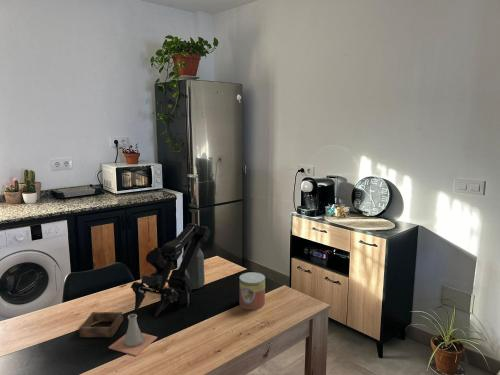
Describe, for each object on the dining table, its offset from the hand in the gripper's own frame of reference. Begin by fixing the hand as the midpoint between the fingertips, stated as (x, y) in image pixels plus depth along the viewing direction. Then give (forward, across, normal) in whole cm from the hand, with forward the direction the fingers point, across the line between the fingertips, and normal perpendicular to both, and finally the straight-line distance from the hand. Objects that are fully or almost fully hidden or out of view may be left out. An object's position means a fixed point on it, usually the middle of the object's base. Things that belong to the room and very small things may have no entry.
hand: (145, 312), depth 142 cm
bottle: (-24, -4, +36) cm, 43 cm away
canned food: (-20, +28, +32) cm, 47 cm away
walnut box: (+8, -18, +3) cm, 20 cm away
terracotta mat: (+11, 0, 0) cm, 11 cm away
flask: (+11, 0, 0) cm, 11 cm away
